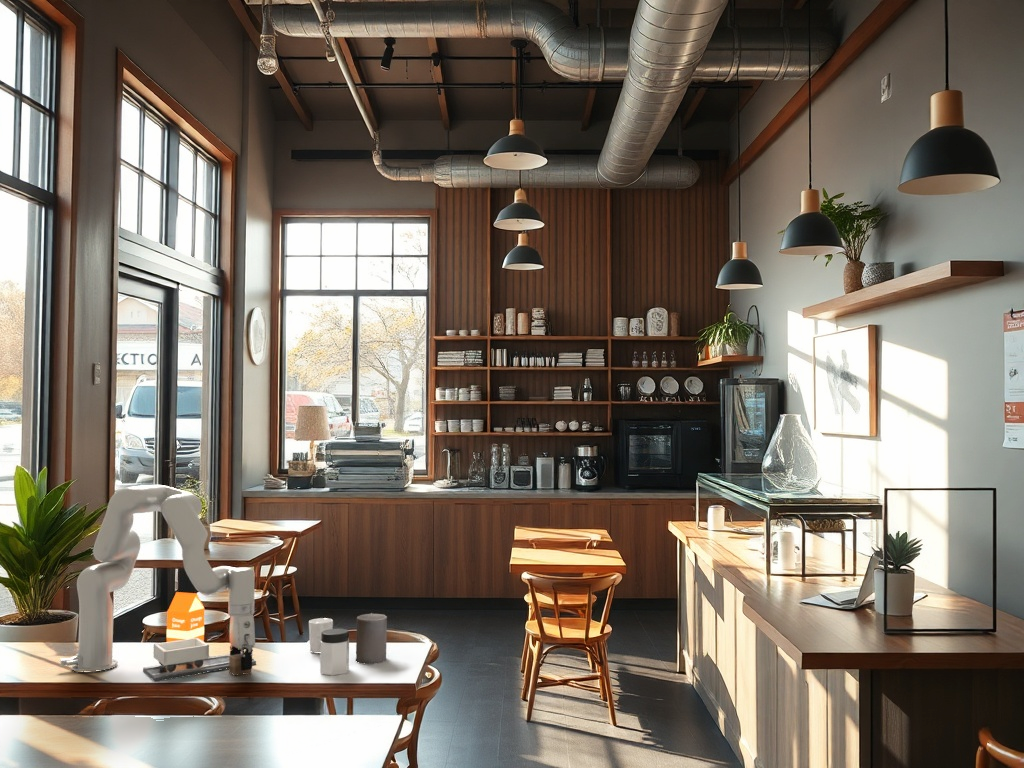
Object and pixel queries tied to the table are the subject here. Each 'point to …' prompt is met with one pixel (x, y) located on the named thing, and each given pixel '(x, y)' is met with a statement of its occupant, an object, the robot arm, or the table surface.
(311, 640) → the white cup
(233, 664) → the walnut block
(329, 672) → the jar
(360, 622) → the pillar candle
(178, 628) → the orange juice
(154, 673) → the track
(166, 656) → the cart
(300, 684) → the table surface
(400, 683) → the table surface
